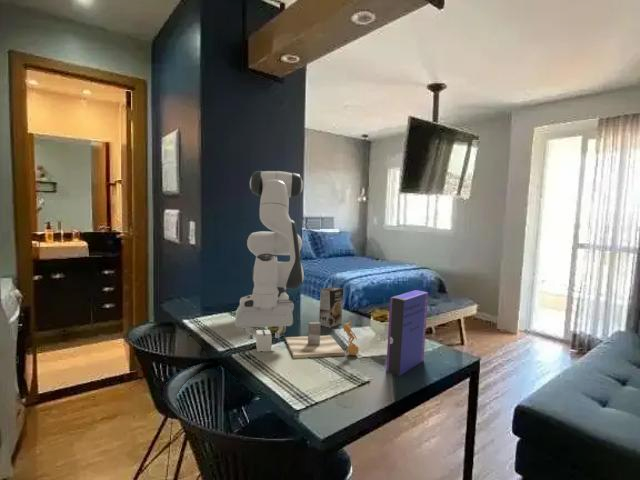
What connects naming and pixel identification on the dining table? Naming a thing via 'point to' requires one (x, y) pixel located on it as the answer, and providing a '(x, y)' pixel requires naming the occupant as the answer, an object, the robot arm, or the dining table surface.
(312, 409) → the dining table surface
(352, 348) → the figurine
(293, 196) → the robot arm
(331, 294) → the coffee box
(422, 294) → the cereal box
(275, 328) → the gold vase
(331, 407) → the dining table surface
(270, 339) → the keyed cap
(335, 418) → the dining table surface
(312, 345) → the block
